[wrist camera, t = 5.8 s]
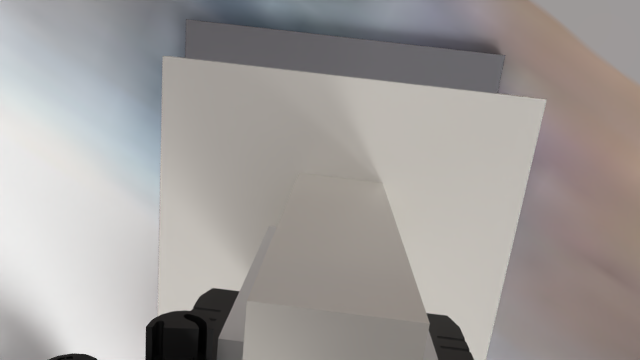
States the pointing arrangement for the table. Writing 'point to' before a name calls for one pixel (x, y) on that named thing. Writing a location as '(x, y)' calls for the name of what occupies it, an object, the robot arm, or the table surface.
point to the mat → (343, 56)
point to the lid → (340, 205)
